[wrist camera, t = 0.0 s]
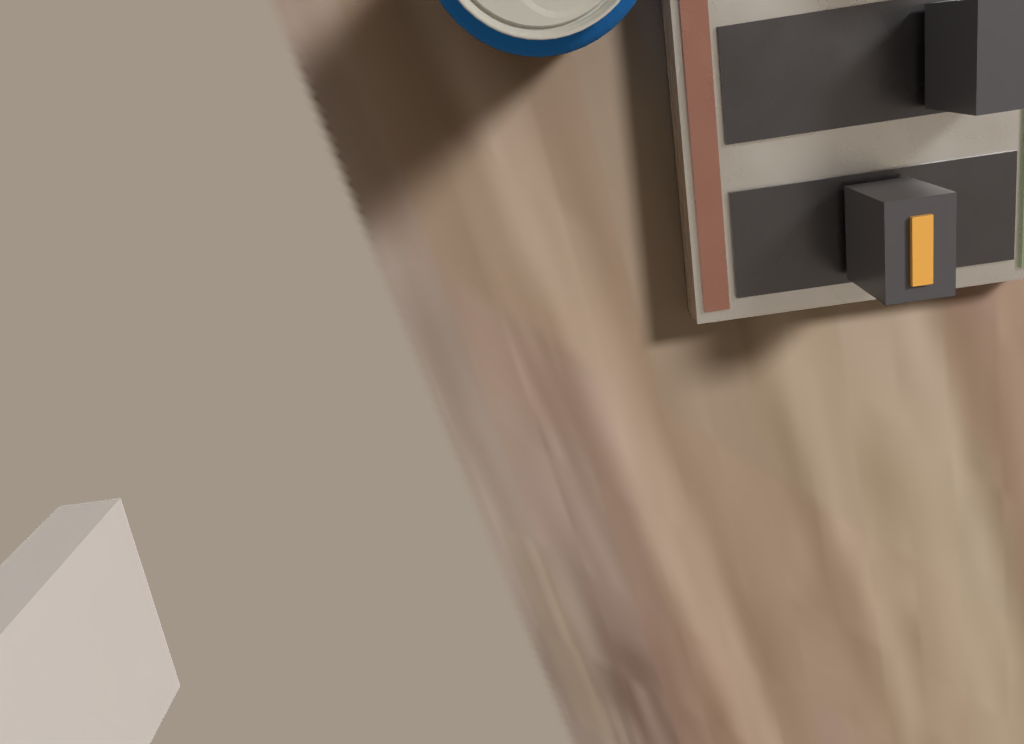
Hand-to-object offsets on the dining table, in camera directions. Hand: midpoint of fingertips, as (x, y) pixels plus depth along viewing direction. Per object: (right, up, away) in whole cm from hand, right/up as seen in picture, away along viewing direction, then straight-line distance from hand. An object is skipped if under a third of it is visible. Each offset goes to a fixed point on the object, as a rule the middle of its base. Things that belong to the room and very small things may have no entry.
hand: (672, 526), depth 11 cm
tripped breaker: (+12, +7, +24) cm, 28 cm away
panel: (+11, +14, +25) cm, 30 cm away
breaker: (+14, +13, +22) cm, 29 cm away
